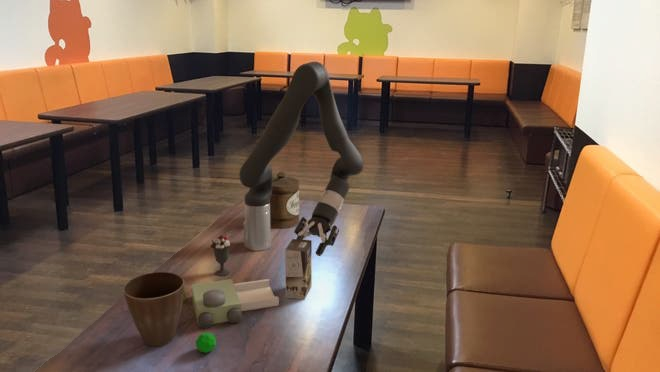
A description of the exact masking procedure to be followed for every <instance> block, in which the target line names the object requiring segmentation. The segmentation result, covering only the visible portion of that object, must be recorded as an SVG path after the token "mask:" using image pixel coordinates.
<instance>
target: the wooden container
mask: <svg viewBox="0 0 660 372" xmlns="http://www.w3.org/2000/svg"><path fill="white" fill-rule="evenodd" d="M299 222H300V180H299V179H297V178H295V177H291V176H286V173H285V172H284V171H279V172H277V175H276V176H273V179H272V195H271V197H270V228H275V229H288V228H292V227H296V226H297V225H298V224H299Z"/></svg>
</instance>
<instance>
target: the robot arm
mask: <svg viewBox="0 0 660 372" xmlns="http://www.w3.org/2000/svg"><path fill="white" fill-rule="evenodd" d="M328 73H329V72H328V70H327V68H326V67H325V65H324V64H322V62H318V61H310V62H307V63H303V64H300V65H299V66H298V67H297V68H296V69H295V71H294V72H293V75H292V77H291V79H290V82H289V85H288V87H287V89H286V91H285V93H284V96H283V97H282V99H281V100H280V102H279V104H278V105H277V108H276V109H275V111H274V113H273V114H272V116H271V117H270V119H269V121H268V123H267V125H266V127H265V129H264V130H263V132H262V134H261V136H260V138H259V139H258V141H257V143H256V144H255V146H254V149H253V150H252V151H251V153H250V154H249V156H248V157H247V159H246V160H245V161H244V162H243V164H242V165H241V167H240V170H239V174H238V175H239V176H238V177H239V180H240V183H241V185H243V186H244V187H245V188H249V190H248V191H247V193H246V194H245V195H244V217H245V218H244V221H243V245H244V246H245V248H246V249H247V250H251V251H254V252H255V251H257V252H258V251H260V252H261V251H265V250H268V249H269V248H271V243H272V241H271V240H272V239H271V237H272V236H271V235H272V231H271V227H270V197H271V195H272V179H273V177H274V176H273V169H272V166H271V164H270V162H271V161H272V159H274V158H275V157H276V156H277V154H279V153H280V152H281V151H282V149H283V148H285V147H286V145H287V144H288V143H289V142H290V141H291V138H292V137H293V135H294V133H295V132H296V131H297V128H298V126H299V122H300V118H301V117H300V116H301V113H302V109H303V108H304V105H306V102H307V101H308V99H309V98H310V97H311V96H312V95H313V96H314V97H315V99H316V102H317V105H318V110H319V114H320V124H321V128H322V132H323V134H324V137H325V139H326V141H327V144H328V146H329V148H330V149H331V151H333V152H336V153H338V154H339V156H340V157H338V158H337V159H336V160H335V162H334V164H333V166H332V169H331V173H330V177H329V178H330V179H329V182H328V183H327V185H326V188H325V189H324V191H323V193H322V194H321V196H320V198H319V199H318V201H317V204H316V205H315V207H314V210H313V211H312V213H311V214H312V215H311V218H310V219H307V218H305V217H304V216H302V217H301V219H299V223H298V224H297V225H296V226H295V227H296V228H295V229H294V230H293V231H294V234H295V235H296V236H297V237H296V239H298V240H299V239H300V240H305V239H306V238H307V237H310V236H317V237H319V238H320V240H321V242H320V243H319V245H318V247H317V248H316V251H315V254H316V255H317V257H321V256H322V255H323V254H324V252H325V250H326V248H327V247H328V246H332V247H333V246H334V244H335V242H336V239H337V238H338V234H339V232H340V229H339V227H338V226H337V225H335V224H334V223H335V221H336V220H337V217H338V216H339V213H340V211H341V209H342V207H343V204H344V201H345V198H346V197H347V195H348V193H349V190H350V183H349V181H348V180H349V178H350V177H352V176H358V175H360V174H361V173H362V171H363V169H364V160H363V157H362V155H361V153H360V152H359V150H358V149H357V147H356V146H355V145H354V144H353V142H352V141H351V140H350V137H349V135H348V132H347V130H346V127H345V125H344V123H343V121H342V118H341V116H340V113H339V109H338V106H337V104H336V103H337V102H336V99H335V96H334V93H333V89H332V84H331V81H330V76H329V74H328ZM329 232H330V233H329ZM328 233H329V235H328Z"/></svg>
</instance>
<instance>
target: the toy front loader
mask: <svg viewBox="0 0 660 372" xmlns="http://www.w3.org/2000/svg"><path fill="white" fill-rule="evenodd" d="M191 293H192V294H191V296H192V303H193V308H194V314H195V316H196V317H195V318H196V321H197V326H198V327H200V328H201V329H208V328H210V327H212V326H213V325H215V324H220V323H221V324H222V323H225V322H229V323H230V324H237V323H238V324H239V322H241V321H242V319H243V313H242V312H245V311H252V310H258V309H264V308H265V309H266V308H271V307H276V306H277V307H278V306H280V304H279V303H280V302H279V301H280V300H279V299H280V298H279V296H275V294H274V293H273V290H272V288H271V287H270V279H269V278H267V279H266V278H265V279H259V280H251V281H246V282H244V281H243V282H238V283H234V282H233V278H229V279H223V280H215V281H213V280H212V281H208V282H201V283H193V284H191Z"/></svg>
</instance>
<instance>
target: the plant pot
mask: <svg viewBox="0 0 660 372" xmlns="http://www.w3.org/2000/svg"><path fill="white" fill-rule="evenodd" d="M184 289H185V280H184V278H183V277H182V276H181V275H179V274H177V273H175V272H169V271H157V272H156V271H155V272H149V273H145V274H140V275H138V276H136V277H133V278H132V279H129V281H127V282H126V283H125V284H124V286H123V288H122V291H123V295H124V298H125V302H126V304H127V308H128V311H129V314H130V315H131V318H132V320H133V323H134V325H135V327H136V329H137V331H138V332H139V335H140V336H141V338H142V339H143V341H144V343H145V344H146V345H147V346H150V347H162V346H165V345H167V344H169V343H171V342H172V341H173V339H174V338H175V335H176V332H177V328H178V325H179V321H180V317H181V312H182V307H183V302H182V301H183V292H184Z"/></svg>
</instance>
